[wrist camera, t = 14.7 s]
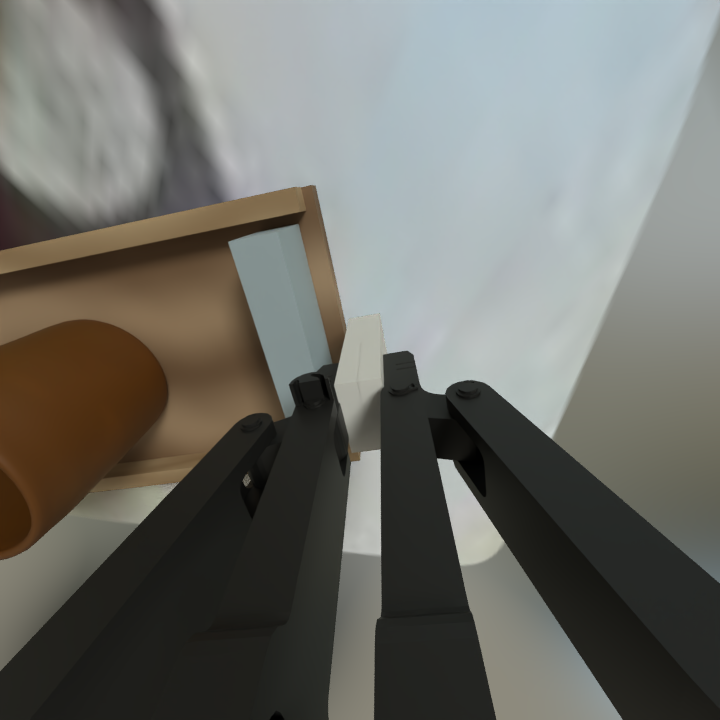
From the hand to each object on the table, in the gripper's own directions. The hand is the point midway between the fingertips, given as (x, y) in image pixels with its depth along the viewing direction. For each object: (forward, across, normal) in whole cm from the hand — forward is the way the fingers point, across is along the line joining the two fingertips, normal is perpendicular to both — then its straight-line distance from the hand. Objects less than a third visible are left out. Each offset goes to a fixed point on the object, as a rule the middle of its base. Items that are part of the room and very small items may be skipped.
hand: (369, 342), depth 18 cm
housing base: (+3, -12, 0) cm, 13 cm away
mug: (+2, -18, +1) cm, 18 cm away
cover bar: (+2, -3, 0) cm, 4 cm away
